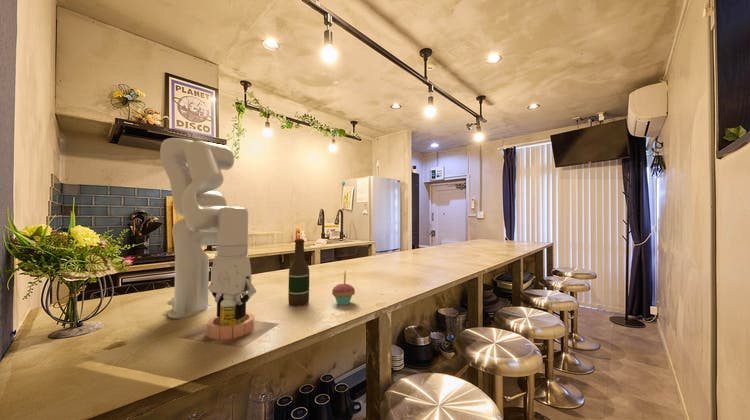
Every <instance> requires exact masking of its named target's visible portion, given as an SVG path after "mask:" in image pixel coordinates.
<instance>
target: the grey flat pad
mask: <svg viewBox="0 0 750 420" xmlns="http://www.w3.org/2000/svg"><path fill="white" fill-rule="evenodd" d="M278 325H279V323H277V322H276V323H275V322H269V321H268V322H267V321H262V320H261V321H260V320H254V328H253V330H252V331H250V332H249V333H247V334H245V335H242V336H239V337H236V338H231V339H221V340H220V339H212V338H209V337H208V336H207V323H205V324H203V325H201V326H198V327H197V328H196V327H195V328H194V329H191V330H190V331H188V332H186V333H183V334H181V335H179V336H178V338H181V339H186V340H191V341H192V340H194V341H197V342H204V343H211V344H217V345H218V344H219V345H222V346H223V345H224V346H231V347H236V348H237V347H238V348H242V349H243V348H244V347H246V346H248V345H249V344H251V343H252V342H253V341H255V340H257V339H258V338H260V337H261V336H263V335H264V334H266V333H267V332H269V331H271V330H272V329H274V328H275V327H277V326H278Z"/></svg>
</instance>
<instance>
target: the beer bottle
mask: <svg viewBox="0 0 750 420" xmlns="http://www.w3.org/2000/svg"><path fill="white" fill-rule="evenodd" d="M304 243H305V239H303V238H295V239H294V244H295V245H294V256H293V261H292V263H290V266H289V269H288V292H287V294H288V299H287V300H288V305H289V306H290V307H291V306H293V307H303V306H306V305H308V304H309V303H310V268H309V265H308V263H307V262H306V258H305V244H304Z"/></svg>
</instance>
